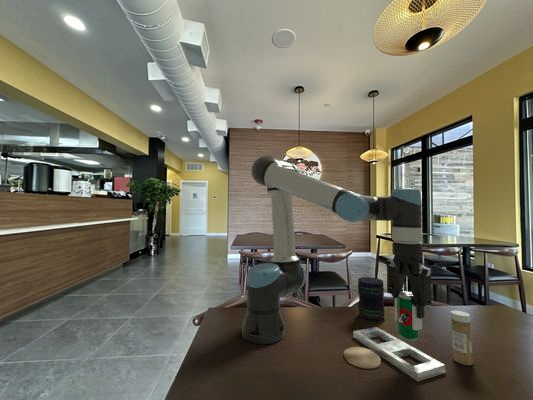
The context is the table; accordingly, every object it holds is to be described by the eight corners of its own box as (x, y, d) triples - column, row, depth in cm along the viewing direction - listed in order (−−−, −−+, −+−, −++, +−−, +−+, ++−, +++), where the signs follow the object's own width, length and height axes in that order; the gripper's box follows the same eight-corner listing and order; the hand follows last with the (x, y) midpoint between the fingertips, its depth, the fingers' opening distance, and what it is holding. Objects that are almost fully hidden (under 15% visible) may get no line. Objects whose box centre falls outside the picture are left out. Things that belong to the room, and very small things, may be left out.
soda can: (421, 341, 67) (421, 296, 68) (401, 339, 68) (400, 295, 69) (414, 333, 72) (413, 291, 73) (395, 331, 73) (395, 289, 74)
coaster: (337, 352, 75) (337, 350, 75) (363, 346, 78) (363, 344, 78) (359, 372, 66) (359, 369, 66) (388, 364, 69) (388, 362, 69)
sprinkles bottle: (477, 364, 69) (474, 315, 70) (464, 366, 68) (461, 316, 69) (460, 355, 73) (458, 309, 74) (448, 357, 72) (446, 310, 73)
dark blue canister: (389, 322, 96) (388, 283, 97) (364, 322, 96) (363, 283, 97) (378, 312, 106) (377, 277, 107) (355, 312, 106) (354, 277, 107)
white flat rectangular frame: (353, 337, 84) (353, 331, 85) (376, 332, 88) (376, 326, 88) (417, 381, 62) (417, 373, 62) (445, 372, 65) (445, 364, 65)
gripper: (448, 245, 64) (450, 337, 63) (391, 238, 81) (392, 310, 80) (427, 246, 62) (429, 342, 60) (373, 239, 79) (373, 313, 77)
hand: (408, 324), depth 70 cm, fingers closed on soda can, 5 cm apart
